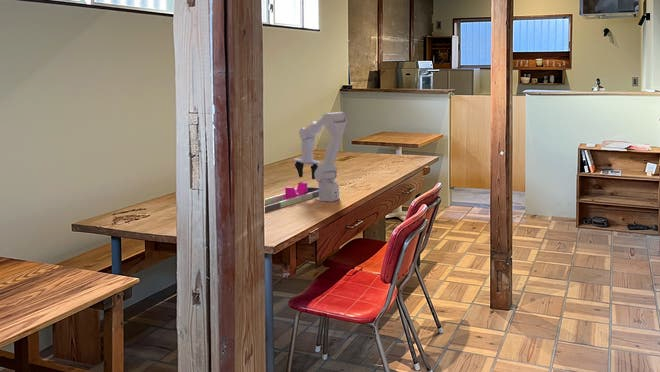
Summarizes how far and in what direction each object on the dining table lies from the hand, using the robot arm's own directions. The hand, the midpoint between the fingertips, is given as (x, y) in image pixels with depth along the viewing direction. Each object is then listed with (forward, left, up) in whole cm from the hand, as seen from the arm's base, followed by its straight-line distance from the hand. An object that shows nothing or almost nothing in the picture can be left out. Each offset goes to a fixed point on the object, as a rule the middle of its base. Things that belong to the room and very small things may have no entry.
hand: (307, 178), depth 350 cm
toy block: (-1, +12, -9) cm, 15 cm away
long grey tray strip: (0, +17, -9) cm, 19 cm away
